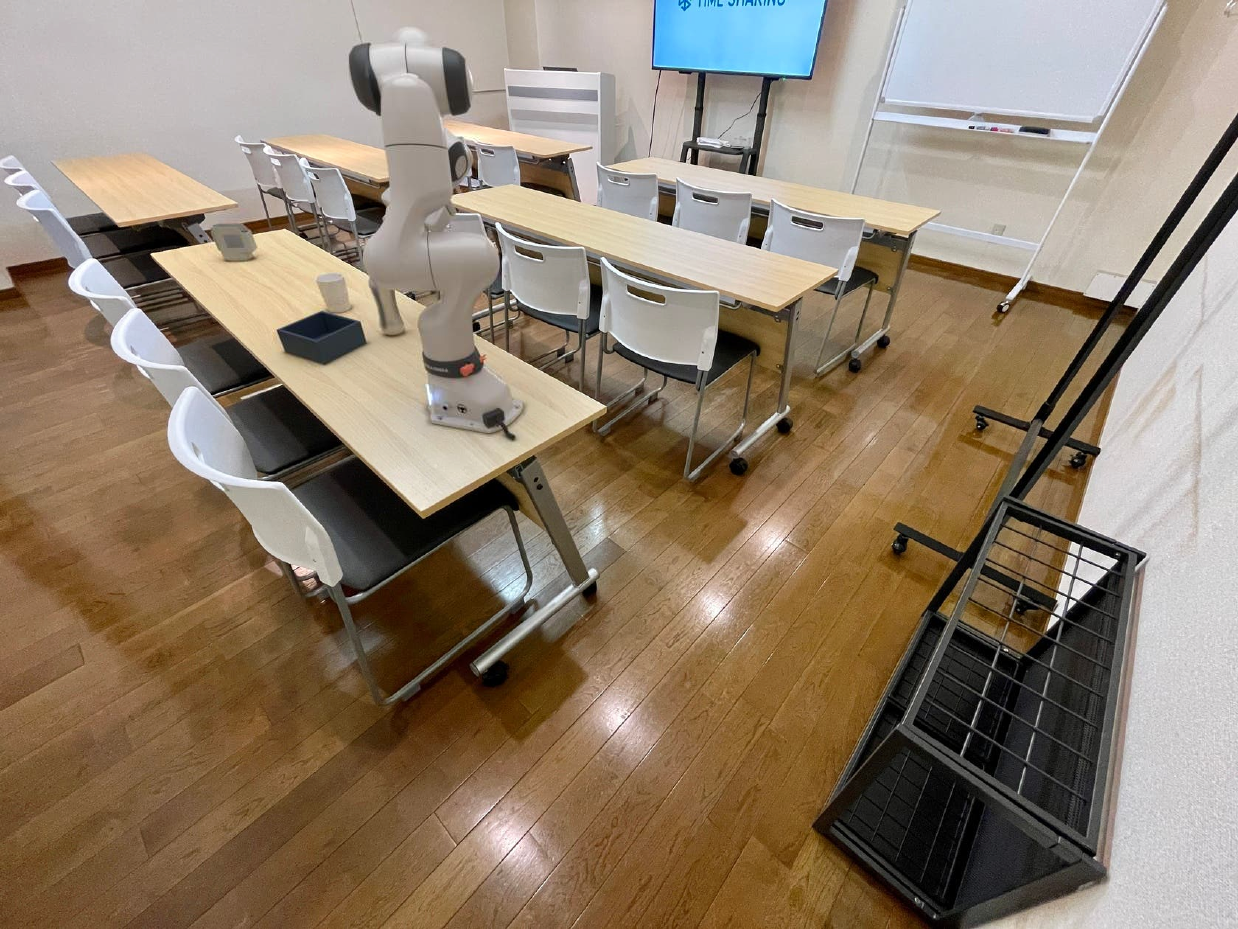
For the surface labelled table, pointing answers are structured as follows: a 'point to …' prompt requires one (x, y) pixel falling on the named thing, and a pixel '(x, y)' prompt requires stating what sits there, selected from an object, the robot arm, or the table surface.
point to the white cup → (334, 292)
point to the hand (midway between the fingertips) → (397, 229)
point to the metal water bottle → (387, 309)
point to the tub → (322, 337)
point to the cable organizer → (233, 241)
